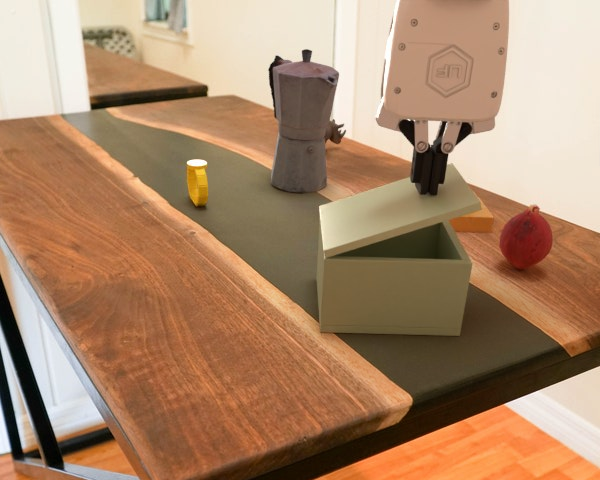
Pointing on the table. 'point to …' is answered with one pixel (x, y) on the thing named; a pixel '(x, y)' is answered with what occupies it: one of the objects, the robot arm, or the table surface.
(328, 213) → the chest lid
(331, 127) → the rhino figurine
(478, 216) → the button block
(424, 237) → the chest
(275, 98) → the moka pot
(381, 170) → the table surface
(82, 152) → the table surface
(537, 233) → the onion
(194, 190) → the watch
